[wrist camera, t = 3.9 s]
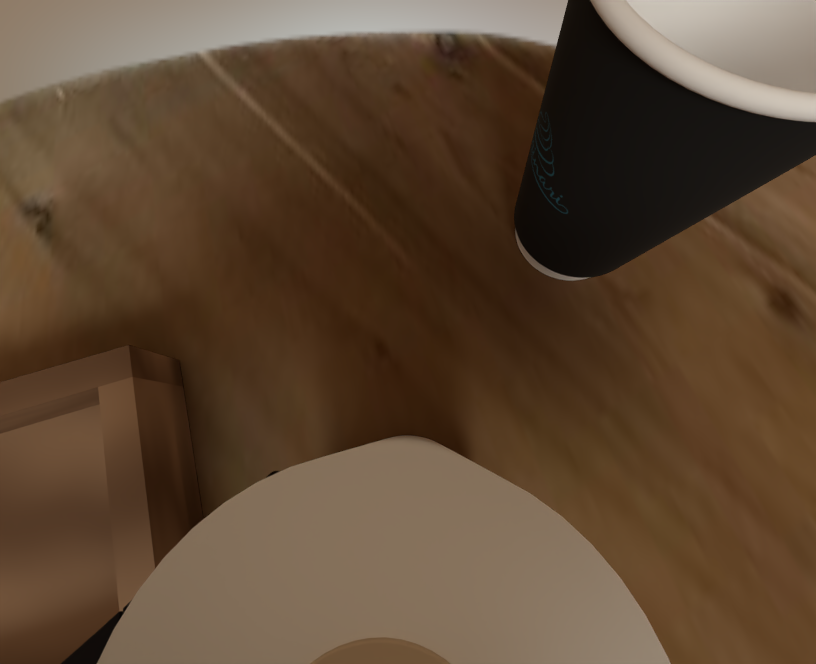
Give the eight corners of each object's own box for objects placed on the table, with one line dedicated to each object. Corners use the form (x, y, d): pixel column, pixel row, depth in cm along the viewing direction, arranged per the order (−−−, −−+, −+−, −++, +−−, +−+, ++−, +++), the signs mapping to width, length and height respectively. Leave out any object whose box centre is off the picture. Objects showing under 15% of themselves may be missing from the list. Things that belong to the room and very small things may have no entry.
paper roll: (430, 620, 14) (517, 1661, 2) (309, 532, 15) (-110, 935, 3) (503, 484, 15) (819, 678, 3) (386, 409, 16) (304, 348, 4)
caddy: (222, 645, 14) (171, 703, 11) (-90, 751, 13) (-234, 843, 10) (179, 360, 16) (129, 345, 14) (-82, 436, 16) (-193, 438, 13)
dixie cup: (689, 237, 18) (1112, -63, 7) (574, 351, 16) (875, 199, 6) (559, 133, 19) (742, -243, 8) (445, 229, 18) (492, -69, 7)
